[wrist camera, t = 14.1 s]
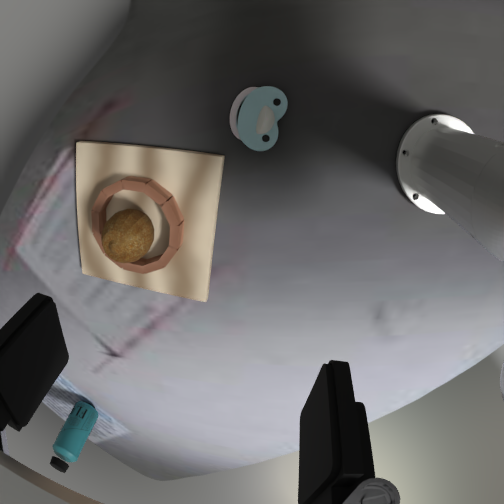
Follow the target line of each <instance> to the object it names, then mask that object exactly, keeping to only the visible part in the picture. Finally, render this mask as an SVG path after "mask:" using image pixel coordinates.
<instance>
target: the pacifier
mask: <svg viewBox="0 0 504 504" xmlns="http://www.w3.org/2000/svg"><path fill="white" fill-rule="evenodd" d="M276 98H278V99H280V101H281V104H280V105H279V106H275V105H274V104H273V100H274V99H276ZM243 101H244V102H243ZM242 102H243V104H242ZM241 104H242V106H241V109H240V112H239V116H238V122H237V115H238V110H239V107H240V105H241ZM287 105H288V103H287V98H286V96H285V94H284V93H283V92H282V91H281V90H279V89H277V88H275V87H271V86H263V87H259V88H258V87H250V88H247V89H245V90H243V91H242V92H241V93H240V94H239V95H238V96H237V97H236V99H235V101H234V102H233V105H232V108H231V111H230V127H231V130H232V132H233V134H234V135H235V136H236V137H237V138H238V139H240V140H242V142H243V143H244V144H245V145H246V146H247V147H249V148H250V149H252V150H255V151H265V150H268V149H270V148H271V147H272V146H273V145H274V144H275V143H276V141H277V138H278V126H277V121H278V120H279V119H281V118H282V116H283V115H284V114H285V112H286V110H287ZM263 135H268V136H269V137H270V140H269V141H268V142H264V141H263V140H262V137H263Z"/></svg>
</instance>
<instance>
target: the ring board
mask: <svg viewBox="0 0 504 504" xmlns="http://www.w3.org/2000/svg"><path fill="white" fill-rule="evenodd" d="M224 158H225V156H224V155H217V154H211V153H203V152H196V151H188V150H180V149H172V148H163V147H153V146H143V145H132V144H121V143H107V142H92V141H79V142H76V193H77V216H78V231H79V243H80V254H81V263H82V272H83V274H87V275H91V276H95V277H98V278H102V279H106V280H110V281H114V282H119V283H123V284H127V285H131V286H135V287H139V288H144V289H148V290H152V291H157V292H161V293H166V294H170V295H175V296H179V297H184V298H189V299H193V300H198V301H203V302H206V301H207V299H208V292H209V282H210V272H211V263H212V254H213V245H214V237H215V228H216V220H217V211H218V203H219V196H220V188H221V180H222V173H223V165H224ZM125 209H137V210H140V211H142V212H144V213H145V214H147V215H148V217H149V218H150V219H151V221H152V224H153V226H154V241H153V243H152V245H151V247H150V249H149V251H148V252H147V253H146V254H145V255H144V256H143V257H141V258H140V259H139V260H137V261H135V262H130V263H120V262H116V261H114V260H112V259H111V258H109V257H108V255H107V254H106V253H105V251H104V249H103V246H102V241H101V235H102V231H103V228H104V226H105V224H106V222H107V221H108V220H109V219H110V218H111V217H112V216H113V215H114V214H115V213H116V212H118V211H121V210H125Z"/></svg>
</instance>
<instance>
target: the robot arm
mask: <svg viewBox="0 0 504 504" xmlns="http://www.w3.org/2000/svg"><path fill="white" fill-rule="evenodd" d="M432 119H433V123H432V122H431V120H432ZM403 150H405V153H404V154H403ZM396 172H397V176H398V180H399V183H400V185H401V188H402V190H403V191H404V193H405V194H406V196H407V197H408V198H409V199H410V200H411V201H412V202H413V203H414V204H415V205H416V206H417V207H419V208H420V209H422V210H424V211H426V212H429V213H433V214H447V215H448V216H449V217H450V218H451V219H452V220H454V221H455V222H456V223H457V224H458V225H459V226H461V227H462V228H463V229H464V230H465V231H466V232H467V233H468V234H470V235H471V236H472V237H473V238H474V239H475V240H476V241H477V242H478V243H480V244H481V245H482V246H483V247H484V248H485V249H486V250H487V251H488V252H489V253H490V254H492V255H493V256H494V257H495V258H497V259H498V260H500V261H502V262H504V142H500V141H497V140H494V139H490V138H487V137H483V136H479V135H476V134H474V132H473V131H472V130H471V128H470V127H469V126H468V125H466V124H465V123H464V122H463V121H461V120H460V119H458V118H456V117H453V116H450V115H446V114H431V115H428V116H424V117H422V118H420V119H419V120H417V121H416V122H414V123H413V124H412V125H411V126H410V127H409V128H408V129H407V131H406V132H405V133H404V135H403V137H402V139H401V141H400V143H399V147H398V150H397V157H396ZM414 193H415V195H414V196H413V194H414ZM68 359H69V355H68V351H67V347H66V344H65V340H64V337H63V333H62V329H61V325H60V321H59V317H58V313H57V308H56V304H55V303H54V302H53V299H52V298H51V297H49V296H46V295H43V294H40V293H36V294H35V295H34V296H33V297H32V298H31V299H30V300H29V301H28V302H27V303H26V304H25V305H24V306H23V307H22V308H21V309H20V310H19V311H18V312H17V313H16V314H15V315H14V316H13V317H12V318H11V319H10V320H9V321H8V322H7V323H6V324H5V325H4V326H3V327H2V328H1V329H0V504H103V503H100V502H98V501H95V500H93V499H91V498H88V497H86V496H84V495H81V494H79V493H77V492H74V491H72V490H70V489H68V488H66V487H64V486H62V485H60V484H58V483H56V482H54V481H52V480H50V479H48V478H46V477H44V476H42V475H41V474H39V473H37V472H35V471H33V470H32V469H30V468H28V467H26V466H25V465H23V464H21V463H20V462H18V461H16V460H15V459H13V458H11V457H10V456H9V451H8V445H7V439H6V432H5V427H6V425H7V424H8V425H9V426H11V427H12V428H14V429H15V430H17V431H20V430H21V428H22V427H24V426H26V425H27V424H28V422H29V421H30V419H31V417H32V416H33V414H34V413H35V411H36V409H37V408H38V406H39V405H40V403H41V402H42V400H43V399H44V397H45V396H46V394H47V392H48V391H49V389H50V388H51V386H52V385H53V383H54V382H55V380H56V379H57V377H58V376H59V374H60V373H61V372H62V370H63V369H64V367H65V366H66V364H67V362H68ZM500 390H501V394H502V398H503V401H504V362H503V366H502V370H501V375H500ZM298 504H400V495H399V492H398V490H397V488H396V487H395V486H394V485H393V484H392V483H391V482H390V481H387V480H385V479H381V478H375V472H374V464H373V456H372V449H371V442H370V435H369V429H368V422H367V416H366V410H365V406H364V404H363V403H361V402H355V398H354V391H353V385H352V379H351V373H350V367H349V363H348V362H343V361H335V360H330V361H329V363H328V364H323V365H322V368H321V370H320V372H319V374H318V377H317V379H316V381H315V384H314V386H313V388H312V390H311V392H310V395H309V397H308V399H307V401H306V403H305V405H304V407H303V409H302V412H301V416H300V451H299V489H298Z"/></svg>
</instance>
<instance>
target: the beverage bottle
mask: <svg viewBox="0 0 504 504" xmlns="http://www.w3.org/2000/svg"><path fill="white" fill-rule="evenodd" d="M72 409H73V410H72V411H71V413H70V414H69V417H68V418H67V420H66V422H65V424H64V426H63V428H62V430H61V431H60V433H59V435H58V437H57V439H56V441H55V443H54V444H53V449H54V452H55V454H56V455H57V456H58V457H60V458H61V459H63V460H65V461H67V462H75V461H77V458H78V456H79V454H80V452H81V450H82V448H83V446H84V444H85V442H86V440H87V438H88V436H89V434H90V432H91V431H92V428H93V426H94V424H95V423H96V420H97V418H98V412H97V411H96V410H95V409H94V408H93V407H92V406H91V405H89V404H87V403H85V402H82V401H79V402H77V403H75V406H74V408H72ZM50 464H51V466H53V467H54V468H55V469H57V470H59V471H61V472H64V473H65V472H66V470H67V469H68V467H69V466H68V464H67V463H65V462H64V461H62V460H60V459H59V458H57V457H54V456H53V457H52V459H51V462H50Z"/></svg>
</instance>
